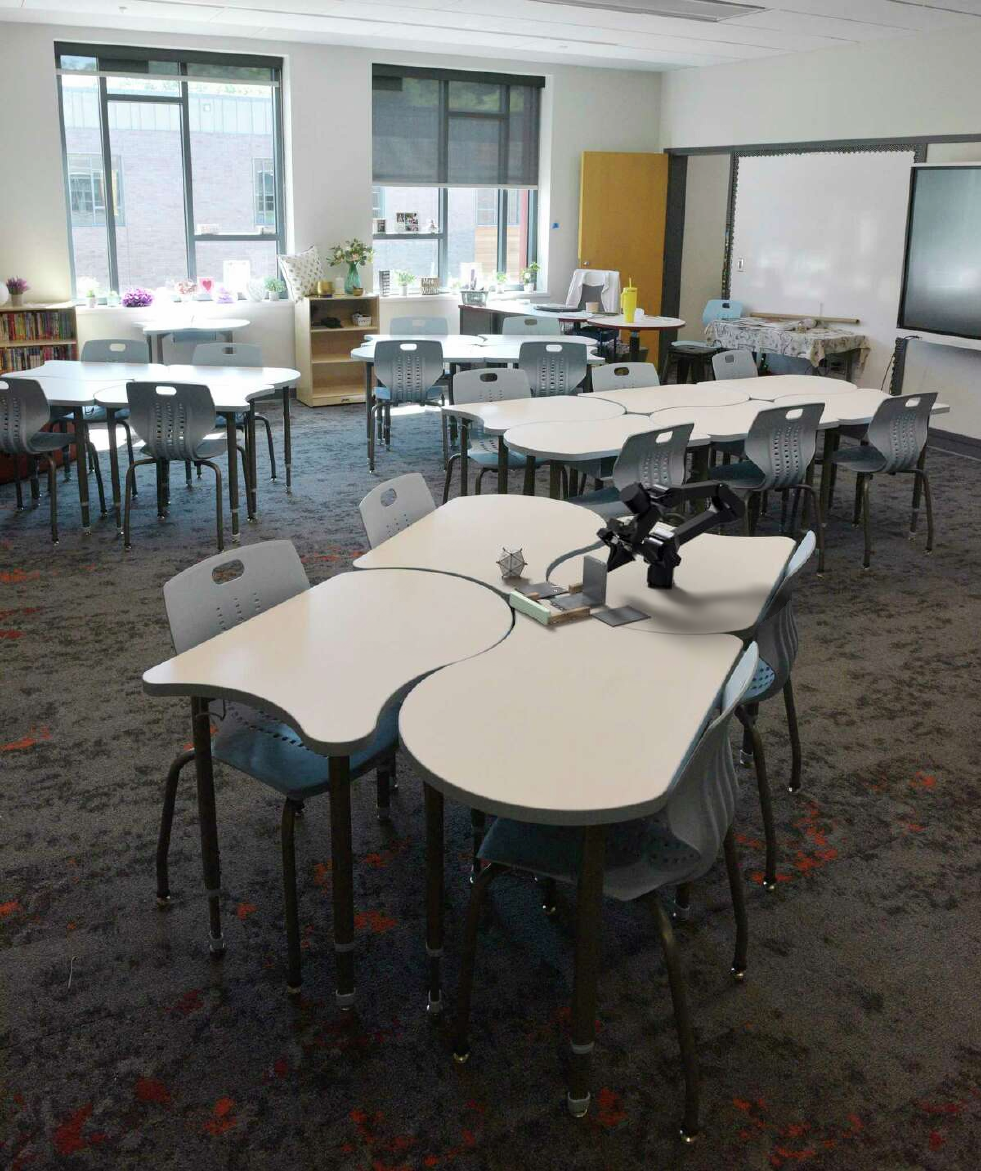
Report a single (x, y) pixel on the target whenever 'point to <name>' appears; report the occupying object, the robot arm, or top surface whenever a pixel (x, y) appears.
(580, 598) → the bookend
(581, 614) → the trap lane
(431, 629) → the top surface
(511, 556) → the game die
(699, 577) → the top surface
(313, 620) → the top surface
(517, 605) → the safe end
